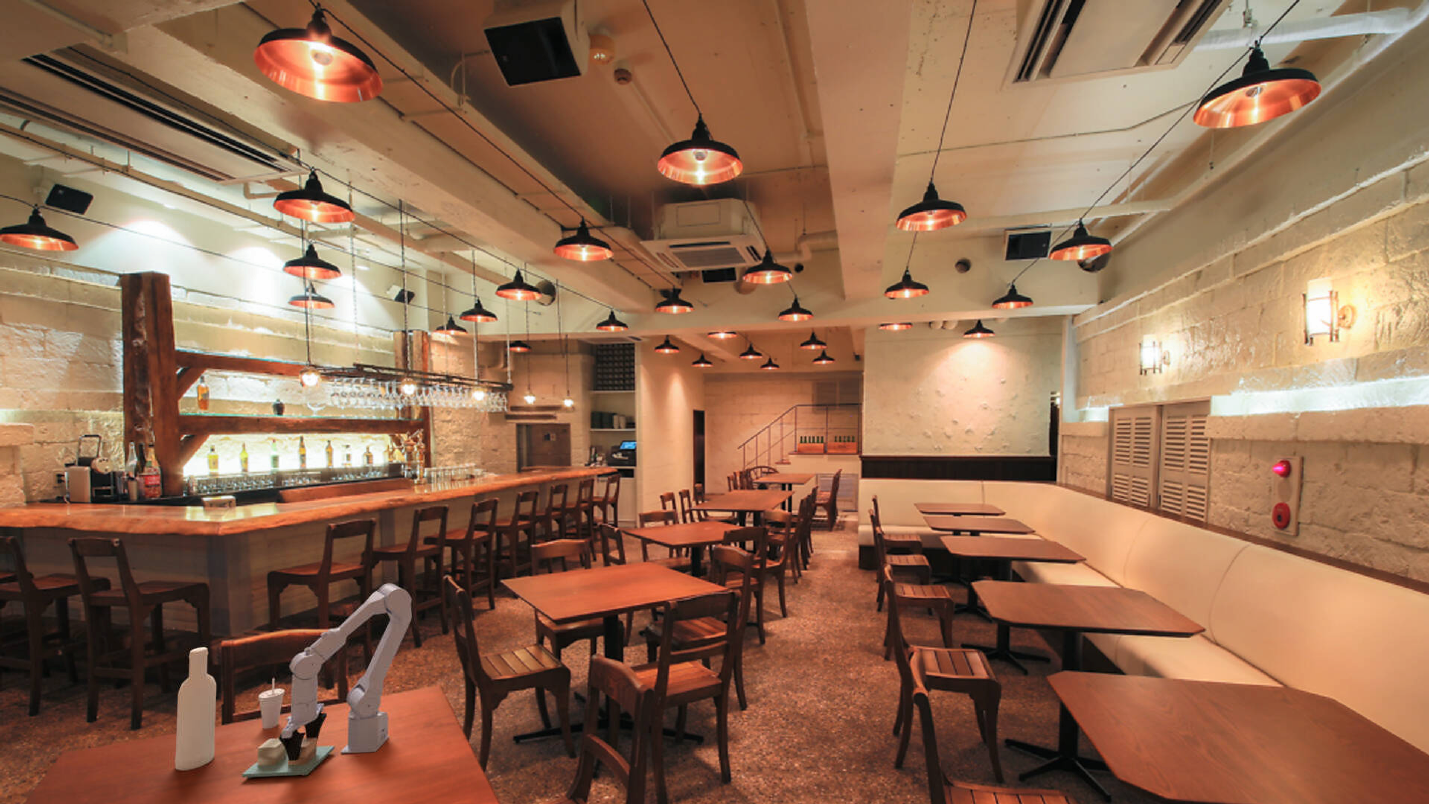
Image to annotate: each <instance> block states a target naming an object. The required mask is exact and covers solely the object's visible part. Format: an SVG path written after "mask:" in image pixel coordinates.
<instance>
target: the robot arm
mask: <svg viewBox="0 0 1429 804" xmlns="http://www.w3.org/2000/svg"><path fill="white" fill-rule="evenodd" d="M412 600H413V599H412V597H411V595H410V594H409V592H408V591H407V590H406V589H404V588H401V587H399V586H398V585H396V584H395V583H386V584H383V585H382V586H380V587H379V589H378V590H375V591H374V592H373V593H372V594H371V595H370V596H369V597H368V599H366V600H365V602H364V603H363V604H361V605H360V606H359V608H357V609H356V610H355V611H354V612H353V613H352V614H351V615H350V616H349V617H348V618H346V620H344V622H343V623H342V624H341V625H339V626H338V627H336V628H330V629H329V630H328V631H325V630H324V631H323V632H322V633H321V634H320V637H319V638H318V639H317V640H316V641H315V642H314V643H312V644H311V646H309V647H305V648H304V649H303V650H304V651H302V652H300V653H297V654H295V656H294V657H293V658H292V659H291V661H290V664H289V669H290V671H291V673H292V679H291V682H292V683H291V693H290V696H291V697H290V698H291V699H290V701H291V702H290V703H291V704H290V715H289V716H288V717H287V718H286V722H287V724H286V726H285V727H284V728H283V729H282V730H281V733H280V734H279V736H278V738H279V740H280V741H281V743H282V744H283V745H284V747H285V749H286V752H287V756H288V759H289V761H296V760H298V759H299V756H300V750H301V744H302V740H303V738H304V737H305V738H317V741H319V736H320V734H321V733H320V732H321V729H322V726H323V725H324V722H325V721H326V719H327V715H328V714H327V713H326V712H324V711H325V710H324V709H325V704H324V703H318V686H319V685H318V684H319V683H318V681H319V680H318V674H319V672H320V671H321V668H322V665H323V664H324V663H325V662H326V661H328V660H329V659H330V658H331V657H332V656H333V655H334V654H335V653H337V651H338V650H340V649H341V648H342V647H343V646H344V645H345V644H346V641H347V637H348V636H350V635H351V634H352V633H353V632H354V631H355V630H357V628H359V627H360V626H362V625H363V624H364V623H365V622H366V621H368V620H369V619H370V618H371V617H372V616H374V615H381V614H387V615H388V617H389V619H390V620H389V622H388V624H387V627H386V628H385V631H384V632H383V635H382V636H381V639H380V642H379V644H378V645H377V648H376V649H375V652H374V655H373V656H372V658H371V661H370V663H369V665H368V667H367V669H366V671H365V673H364V675H363V676H361V677H359V679H358V680H357V682H356V684H355V685H354V687H353V688H352V689H350V691H349V692H348V693H347V696H346V703H347V705H348V707H350V710H349V713H348V719H347V720H348V721H347V722H348V725H347V727H348V728H347V745H346V746H345V747H343V749H341V751H340V754H354V753H358V754H359V753H373V752H374V753H376V752H377V751H378V749H380V748H381V747H382V746H383V744H384V743H385V742H386V741H387V740H388V739H389V737H390V735H389V715H388V713H387V711H381V710H379V708H380V706H381V703H382V700H381V699H382V694H383V692H384V680H385V678H386V675H387V674H388V671H389V669H390V667H391V664H392V662H393V660H394V658H395V656H396V654H397V652H398V650H399V647H400V645H401V642H402V640H403V638H404V636H405V633H406V632H407V630H408V628H409V625H410V623H411V621H412V617H413V616H412ZM303 726H304V730H305V732H300V731H298V730H299V729H301V727H303Z"/></svg>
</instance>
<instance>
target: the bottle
mask: <svg viewBox="0 0 1429 804" xmlns="http://www.w3.org/2000/svg"><path fill="white" fill-rule="evenodd" d="M208 655H209V651H208V648H207V647H197V648H194V649H191V650H190V652H189V656H188V659H189V664H188V669H189V671H188V677H187V679H185V680H184V681H183V682H182V683H181V686H180V688H179V690H178V693H177V709H176V710H177V711H176V712H177V717H176V738H175V739H176V741H175V742H176V745H175V759H174V760H175V761H174V763H175V769H176V771H177V770H178V771H189V770H194V769H197V768H201V767H202V766H205V765H206V764H209V763H210V762H211V761H212V760H213V759H214V757H215V747H216V746H215V738H216V737H215V733H216V732H215V730H216V729H215V728H216V704H217V703H216V700H217V699H216V697H217V682H216V680H215V678H214V677H213V676H212V675H210V674H209V673H208Z"/></svg>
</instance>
